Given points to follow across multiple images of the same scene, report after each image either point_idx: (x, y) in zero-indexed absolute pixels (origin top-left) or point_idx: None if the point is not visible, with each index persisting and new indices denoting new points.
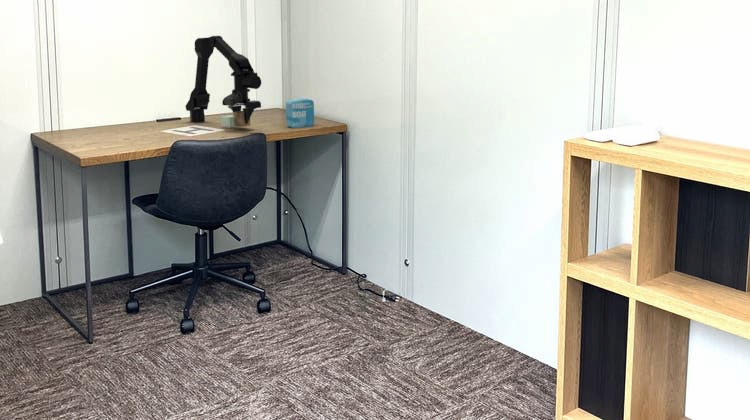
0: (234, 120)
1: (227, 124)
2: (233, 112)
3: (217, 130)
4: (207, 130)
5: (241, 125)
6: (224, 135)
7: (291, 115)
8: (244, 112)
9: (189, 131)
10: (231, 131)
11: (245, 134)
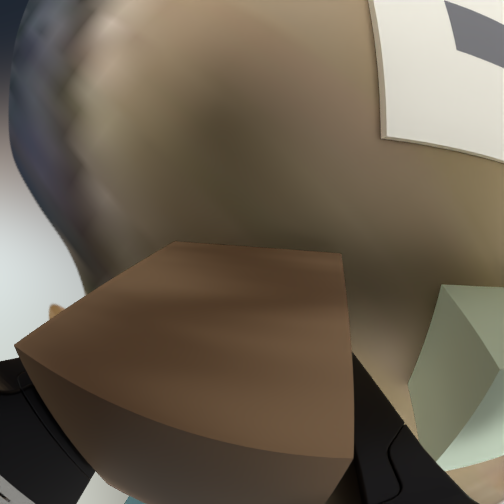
0: (324, 289)
1: (492, 312)
2: (420, 467)
3: (435, 60)
4: (489, 21)
5: (171, 247)
6: (236, 7)
7: (127, 499)
8: (15, 385)
9: None
10: (376, 226)
11: (127, 183)
